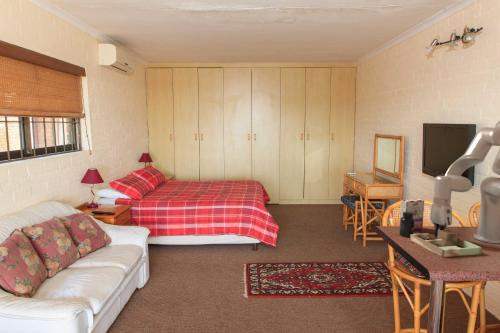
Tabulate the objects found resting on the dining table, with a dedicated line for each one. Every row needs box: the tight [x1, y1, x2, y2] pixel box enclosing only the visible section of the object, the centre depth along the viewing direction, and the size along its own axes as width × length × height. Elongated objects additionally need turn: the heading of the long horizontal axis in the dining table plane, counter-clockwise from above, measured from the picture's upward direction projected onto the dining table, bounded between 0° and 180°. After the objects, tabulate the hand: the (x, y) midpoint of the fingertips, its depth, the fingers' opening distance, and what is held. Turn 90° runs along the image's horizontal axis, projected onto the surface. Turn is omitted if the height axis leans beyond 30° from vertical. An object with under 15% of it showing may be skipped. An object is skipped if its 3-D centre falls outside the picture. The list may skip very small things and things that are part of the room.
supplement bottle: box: [398, 212, 415, 238], centre depth 182 cm, size 7×7×12 cm
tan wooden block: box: [436, 229, 459, 247], centre depth 171 cm, size 6×6×6 cm
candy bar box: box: [400, 198, 425, 231], centre depth 193 cm, size 11×5×16 cm, turn 105°
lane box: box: [409, 232, 466, 258], centre depth 167 cm, size 20×22×3 cm
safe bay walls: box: [439, 240, 483, 257], centre depth 161 cm, size 19×9×3 cm, turn 102°
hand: (438, 237), depth 176 cm, fingers closed
